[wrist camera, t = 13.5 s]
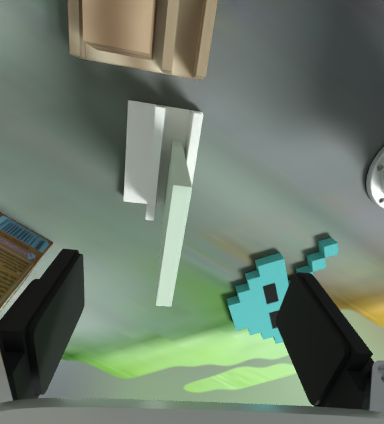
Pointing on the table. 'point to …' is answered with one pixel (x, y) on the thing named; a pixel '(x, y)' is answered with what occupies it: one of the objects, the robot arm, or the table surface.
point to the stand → (156, 149)
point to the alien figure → (270, 291)
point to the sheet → (173, 223)
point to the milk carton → (17, 255)
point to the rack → (159, 39)
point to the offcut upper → (119, 25)
